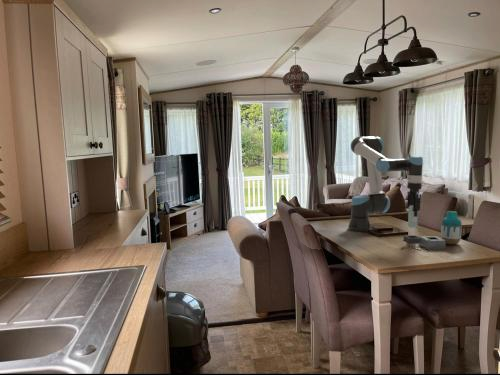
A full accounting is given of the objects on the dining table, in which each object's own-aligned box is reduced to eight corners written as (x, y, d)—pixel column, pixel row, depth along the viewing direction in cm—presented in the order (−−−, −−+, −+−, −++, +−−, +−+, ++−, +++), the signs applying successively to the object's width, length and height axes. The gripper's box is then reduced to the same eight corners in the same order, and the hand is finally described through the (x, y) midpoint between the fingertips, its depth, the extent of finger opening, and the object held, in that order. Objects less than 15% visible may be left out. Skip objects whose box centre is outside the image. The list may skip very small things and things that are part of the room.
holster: (403, 239, 239) (403, 235, 239) (415, 239, 240) (415, 235, 239) (408, 242, 232) (409, 238, 232) (421, 242, 232) (421, 238, 232)
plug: (407, 226, 237) (408, 205, 235) (414, 225, 237) (415, 205, 235) (410, 227, 233) (411, 206, 231) (417, 227, 233) (418, 206, 232)
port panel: (419, 244, 227) (419, 235, 226) (436, 244, 227) (436, 235, 226) (427, 249, 217) (427, 239, 216) (445, 249, 217) (445, 239, 216)
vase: (449, 247, 221) (451, 213, 219) (436, 242, 232) (437, 210, 229) (465, 245, 224) (466, 212, 222) (451, 241, 234) (452, 209, 232)
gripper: (402, 180, 240) (400, 217, 243) (414, 184, 223) (412, 224, 226) (414, 180, 240) (412, 217, 243) (427, 183, 223) (425, 223, 226)
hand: (412, 220), depth 235 cm, fingers closed on plug, 4 cm apart
